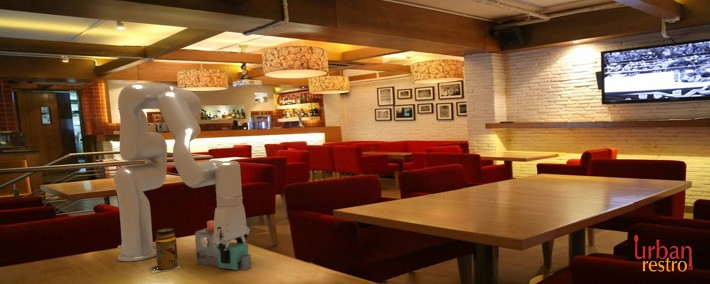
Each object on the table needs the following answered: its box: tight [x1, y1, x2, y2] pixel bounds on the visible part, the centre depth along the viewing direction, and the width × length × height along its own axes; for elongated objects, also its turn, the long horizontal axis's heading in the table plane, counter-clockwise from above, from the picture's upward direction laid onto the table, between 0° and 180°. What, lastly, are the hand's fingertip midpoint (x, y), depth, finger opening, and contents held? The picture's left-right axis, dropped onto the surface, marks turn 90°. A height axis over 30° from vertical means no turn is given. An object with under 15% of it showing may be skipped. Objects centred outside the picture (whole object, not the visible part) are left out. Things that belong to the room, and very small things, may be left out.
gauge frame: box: [194, 227, 231, 257], centre depth 165 cm, size 8×8×8 cm
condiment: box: [148, 227, 182, 274], centre depth 150 cm, size 7×8×12 cm
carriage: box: [216, 241, 249, 271], centre depth 148 cm, size 7×6×6 cm
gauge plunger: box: [206, 219, 214, 232], centre depth 165 cm, size 3×3×5 cm
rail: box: [196, 249, 252, 271], centre depth 150 cm, size 19×3×4 cm, turn 62°
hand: (233, 259), depth 148 cm, fingers closed on carriage, 6 cm apart
